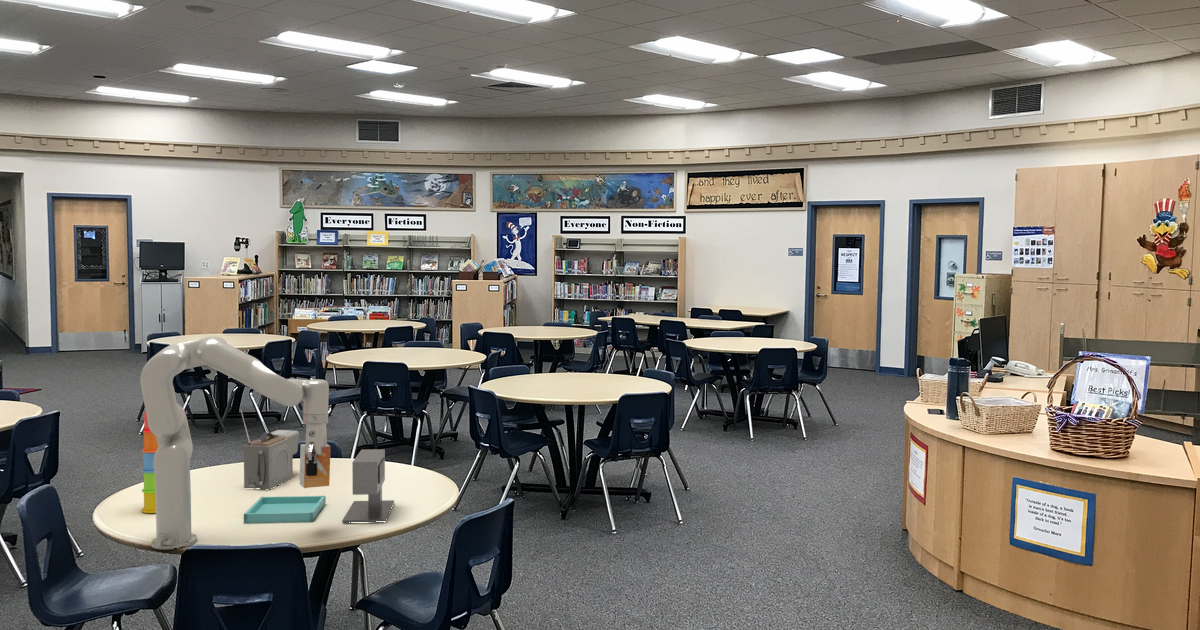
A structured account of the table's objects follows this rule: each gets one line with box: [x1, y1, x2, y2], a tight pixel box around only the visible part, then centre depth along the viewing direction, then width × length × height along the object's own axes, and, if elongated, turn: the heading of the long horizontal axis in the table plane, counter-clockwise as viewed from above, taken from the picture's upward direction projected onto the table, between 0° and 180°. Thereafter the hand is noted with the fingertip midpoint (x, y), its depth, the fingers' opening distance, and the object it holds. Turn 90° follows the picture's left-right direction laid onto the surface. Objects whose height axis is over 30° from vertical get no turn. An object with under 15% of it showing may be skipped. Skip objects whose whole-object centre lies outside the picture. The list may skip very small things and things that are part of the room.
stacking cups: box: [141, 410, 158, 514], centre depth 284 cm, size 10×10×35 cm
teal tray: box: [243, 495, 327, 524], centre depth 284 cm, size 20×22×3 cm
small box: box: [299, 443, 331, 489], centre depth 266 cm, size 8×6×13 cm
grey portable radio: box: [240, 409, 300, 490], centre depth 321 cm, size 12×24×30 cm, turn 172°
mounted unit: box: [341, 448, 395, 524], centre depth 284 cm, size 22×14×20 cm, turn 7°
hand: (314, 471), depth 266 cm, fingers closed on small box, 8 cm apart
